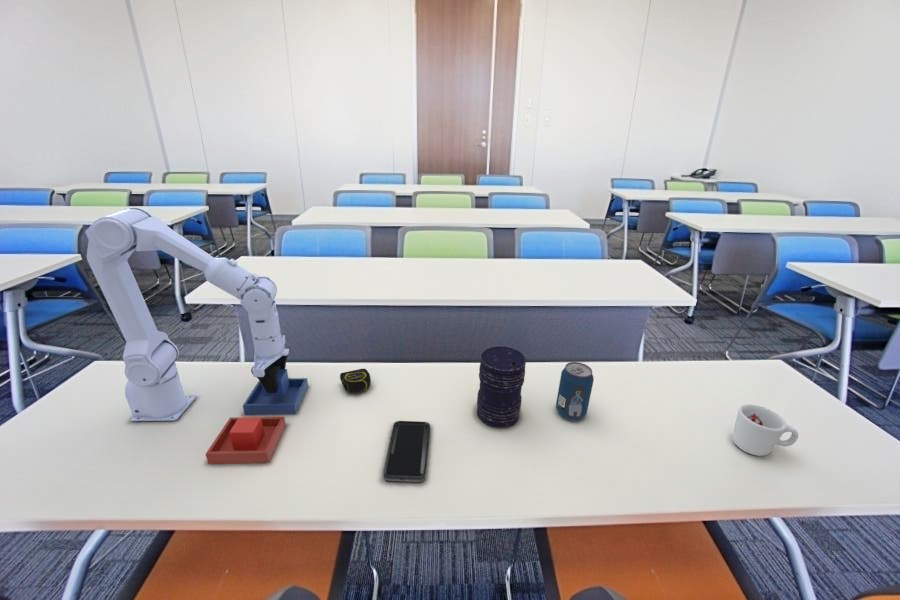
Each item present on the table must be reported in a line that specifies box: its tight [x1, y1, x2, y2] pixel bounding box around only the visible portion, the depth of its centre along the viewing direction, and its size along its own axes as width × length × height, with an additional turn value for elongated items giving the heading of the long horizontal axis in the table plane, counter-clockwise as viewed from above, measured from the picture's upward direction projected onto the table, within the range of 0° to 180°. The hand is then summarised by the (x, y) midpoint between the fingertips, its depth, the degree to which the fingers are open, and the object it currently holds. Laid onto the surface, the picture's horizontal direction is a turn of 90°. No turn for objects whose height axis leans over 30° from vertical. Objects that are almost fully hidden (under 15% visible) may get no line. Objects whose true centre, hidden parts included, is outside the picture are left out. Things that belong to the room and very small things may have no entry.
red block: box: [229, 416, 264, 450], centre depth 79 cm, size 4×4×4 cm
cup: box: [732, 403, 799, 457], centre depth 82 cm, size 11×8×8 cm
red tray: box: [205, 416, 287, 465], centre depth 80 cm, size 11×10×2 cm
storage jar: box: [476, 346, 527, 429], centre depth 88 cm, size 10×10×15 cm
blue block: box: [261, 368, 289, 396], centre depth 91 cm, size 4×4×4 cm
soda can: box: [555, 361, 595, 422], centre depth 89 cm, size 7×7×12 cm
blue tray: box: [242, 377, 309, 416], centre depth 92 cm, size 11×10×2 cm
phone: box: [382, 420, 431, 483], centre depth 79 cm, size 8×1×15 cm
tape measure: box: [339, 368, 372, 394], centre depth 97 cm, size 7×7×4 cm
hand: (275, 385), depth 91 cm, fingers closed on blue block, 4 cm apart
